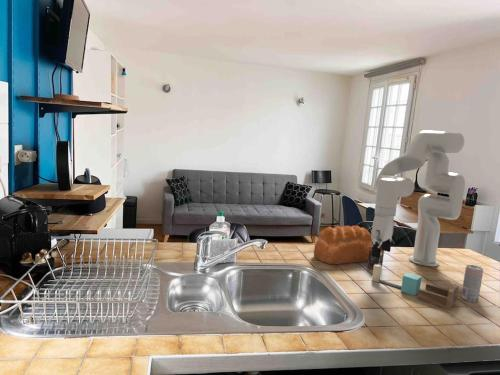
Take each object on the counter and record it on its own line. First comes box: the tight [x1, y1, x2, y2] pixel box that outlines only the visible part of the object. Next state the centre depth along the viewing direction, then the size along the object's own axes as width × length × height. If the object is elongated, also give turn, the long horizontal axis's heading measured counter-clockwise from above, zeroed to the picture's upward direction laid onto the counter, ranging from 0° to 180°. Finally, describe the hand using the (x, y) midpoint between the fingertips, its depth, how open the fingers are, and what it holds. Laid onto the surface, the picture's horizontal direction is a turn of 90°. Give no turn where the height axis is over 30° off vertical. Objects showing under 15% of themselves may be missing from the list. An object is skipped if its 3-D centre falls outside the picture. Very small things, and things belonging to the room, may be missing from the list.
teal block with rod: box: [371, 265, 423, 297], centre depth 141 cm, size 17×5×6 cm, turn 49°
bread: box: [313, 225, 372, 265], centre depth 169 cm, size 14×26×16 cm, turn 115°
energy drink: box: [460, 264, 484, 303], centre depth 134 cm, size 5×5×12 cm
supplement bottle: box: [367, 242, 385, 270], centre depth 161 cm, size 6×6×11 cm
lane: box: [417, 282, 460, 310], centre depth 131 cm, size 9×10×6 cm
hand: (380, 253), depth 145 cm, fingers open, 9 cm apart
